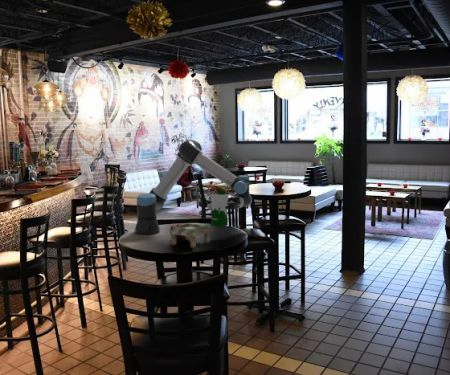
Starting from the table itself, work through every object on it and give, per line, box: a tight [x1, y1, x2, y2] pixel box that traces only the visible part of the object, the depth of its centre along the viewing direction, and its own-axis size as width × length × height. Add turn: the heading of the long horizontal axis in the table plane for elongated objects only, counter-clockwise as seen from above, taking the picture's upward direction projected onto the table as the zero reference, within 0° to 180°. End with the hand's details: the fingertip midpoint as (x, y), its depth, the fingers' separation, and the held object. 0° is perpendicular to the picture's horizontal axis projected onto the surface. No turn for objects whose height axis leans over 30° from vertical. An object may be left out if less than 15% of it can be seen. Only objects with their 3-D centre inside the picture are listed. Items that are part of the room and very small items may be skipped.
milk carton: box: [209, 189, 230, 228], centre depth 264 cm, size 9×9×20 cm
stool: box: [169, 222, 211, 249], centre depth 253 cm, size 16×16×10 cm
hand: (214, 207), depth 260 cm, fingers closed on milk carton, 9 cm apart
